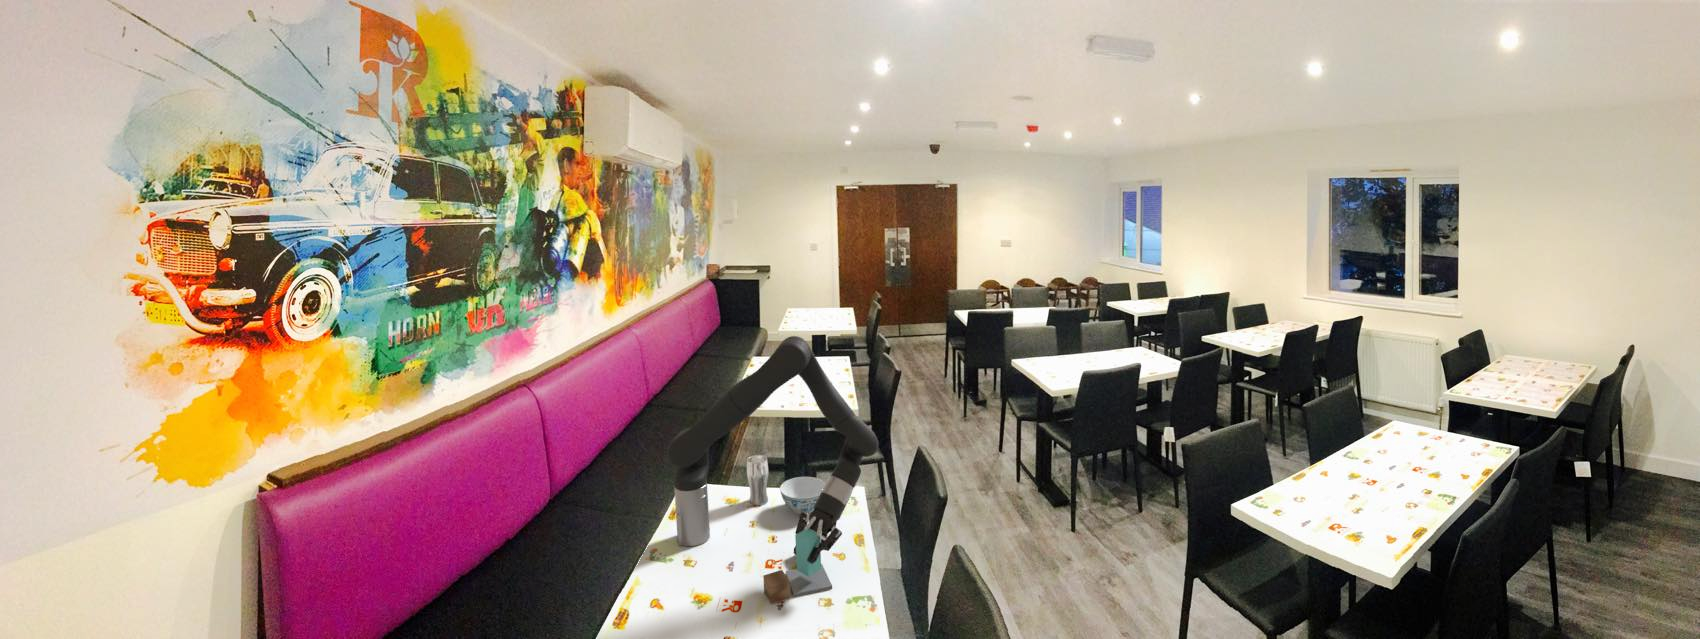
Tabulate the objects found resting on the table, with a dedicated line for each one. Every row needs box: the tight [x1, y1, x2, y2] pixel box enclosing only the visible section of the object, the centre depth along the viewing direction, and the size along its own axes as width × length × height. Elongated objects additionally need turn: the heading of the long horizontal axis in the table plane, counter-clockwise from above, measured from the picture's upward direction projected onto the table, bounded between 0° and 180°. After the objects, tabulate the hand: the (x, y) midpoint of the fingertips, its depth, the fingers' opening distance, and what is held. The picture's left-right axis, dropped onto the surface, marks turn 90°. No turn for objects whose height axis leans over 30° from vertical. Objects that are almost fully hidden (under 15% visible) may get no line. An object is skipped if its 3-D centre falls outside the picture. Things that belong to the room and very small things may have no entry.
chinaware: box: [779, 476, 826, 515], centre depth 191 cm, size 15×15×8 cm
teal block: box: [794, 529, 822, 577], centre depth 153 cm, size 4×4×10 cm
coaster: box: [785, 563, 833, 598], centre depth 155 cm, size 10×10×1 cm
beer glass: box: [746, 454, 769, 507], centre depth 196 cm, size 7×7×15 cm
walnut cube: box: [762, 569, 791, 605], centre depth 149 cm, size 5×5×5 cm
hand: (803, 558), depth 152 cm, fingers closed on teal block, 4 cm apart
